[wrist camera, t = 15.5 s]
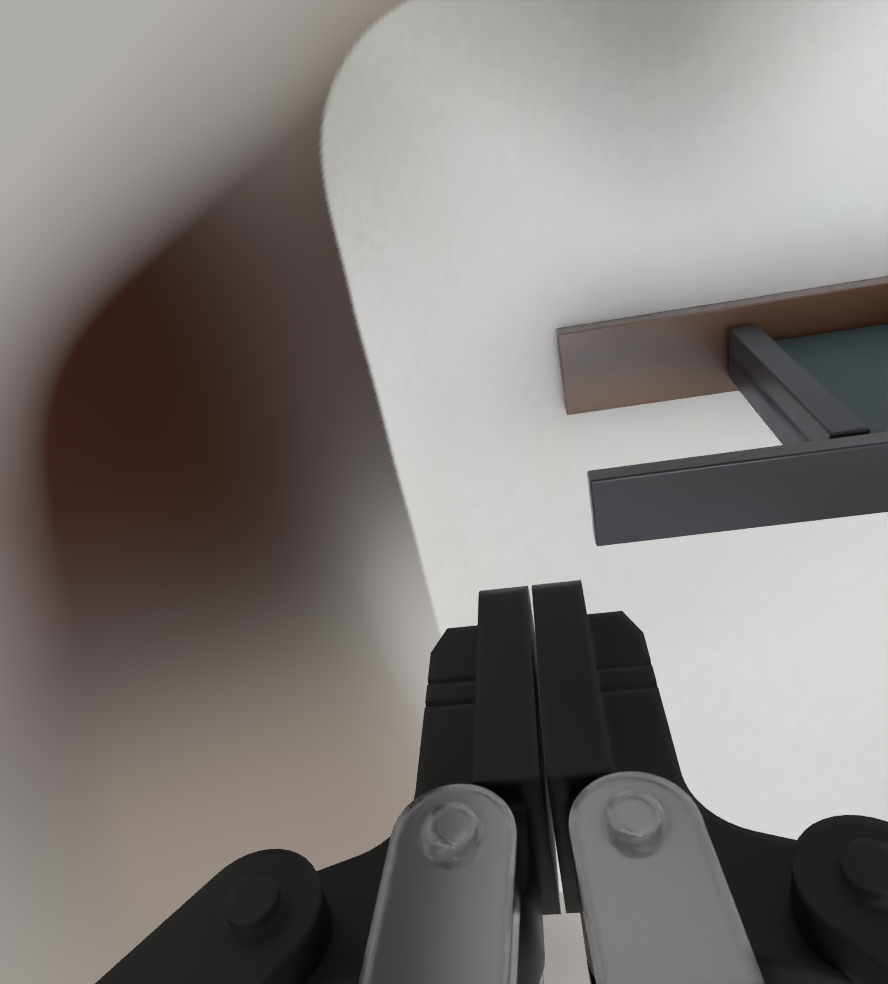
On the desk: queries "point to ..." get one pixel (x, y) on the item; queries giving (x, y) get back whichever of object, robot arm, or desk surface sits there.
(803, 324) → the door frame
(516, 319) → the desk surface
